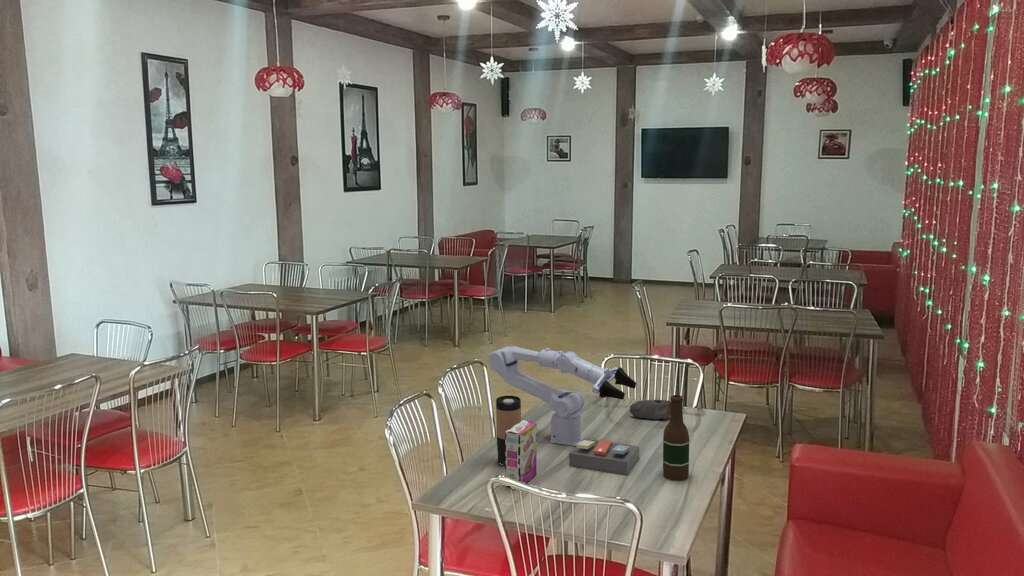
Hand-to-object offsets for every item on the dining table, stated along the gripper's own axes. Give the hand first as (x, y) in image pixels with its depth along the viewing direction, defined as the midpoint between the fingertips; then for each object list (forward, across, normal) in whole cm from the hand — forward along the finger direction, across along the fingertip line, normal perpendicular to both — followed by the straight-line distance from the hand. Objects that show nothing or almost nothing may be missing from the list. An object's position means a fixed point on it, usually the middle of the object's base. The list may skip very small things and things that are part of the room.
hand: (629, 391), depth 233 cm
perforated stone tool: (-1, +28, +28) cm, 40 cm away
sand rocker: (-4, -16, +15) cm, 22 cm away
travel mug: (-22, -30, +22) cm, 43 cm away
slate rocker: (+6, -14, +12) cm, 19 cm away
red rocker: (+1, -15, +14) cm, 20 cm away
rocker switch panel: (+2, -14, +18) cm, 23 cm away
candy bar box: (-12, -38, +17) cm, 44 cm away
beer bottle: (+23, -11, +13) cm, 29 cm away
